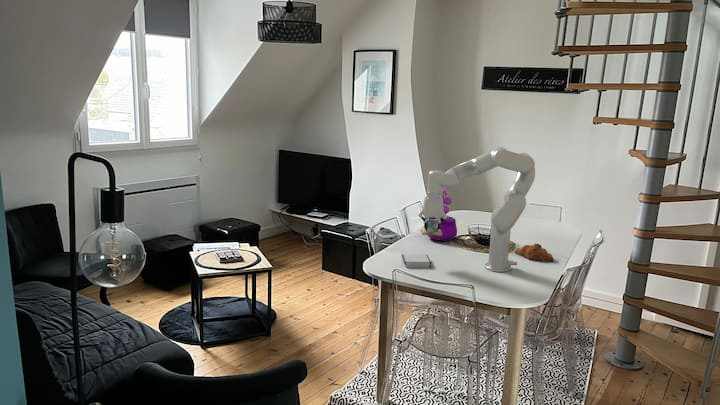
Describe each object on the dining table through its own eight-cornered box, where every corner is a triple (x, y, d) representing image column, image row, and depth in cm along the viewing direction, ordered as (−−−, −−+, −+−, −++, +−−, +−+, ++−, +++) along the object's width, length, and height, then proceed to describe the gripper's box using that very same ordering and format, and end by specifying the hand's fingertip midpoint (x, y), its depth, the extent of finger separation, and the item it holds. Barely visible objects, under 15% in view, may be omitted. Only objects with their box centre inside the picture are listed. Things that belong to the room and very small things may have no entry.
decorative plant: (455, 235, 323) (458, 187, 316) (457, 244, 305) (461, 194, 298) (424, 233, 324) (427, 186, 317) (425, 242, 306) (427, 192, 299)
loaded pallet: (440, 232, 272) (441, 219, 270) (442, 235, 266) (443, 222, 264) (420, 231, 271) (421, 218, 270) (422, 235, 266) (423, 221, 264)
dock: (427, 259, 278) (427, 254, 277) (430, 267, 266) (431, 261, 266) (401, 259, 277) (401, 253, 277) (404, 267, 266) (404, 261, 265)
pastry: (522, 262, 278) (523, 247, 276) (514, 252, 293) (515, 239, 291) (554, 262, 278) (555, 248, 276) (544, 253, 293) (545, 239, 291)
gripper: (449, 194, 268) (446, 228, 272) (416, 192, 267) (414, 227, 271) (452, 197, 261) (449, 232, 265) (418, 196, 260) (415, 231, 264)
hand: (431, 229), depth 268 cm, fingers closed on loaded pallet, 5 cm apart
